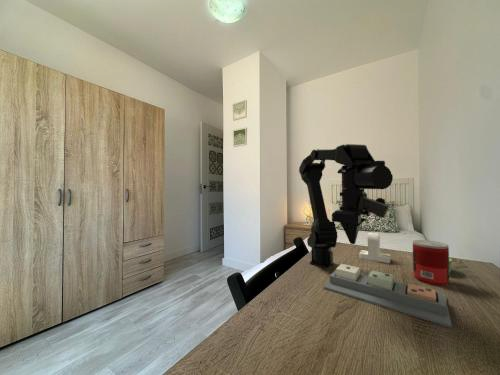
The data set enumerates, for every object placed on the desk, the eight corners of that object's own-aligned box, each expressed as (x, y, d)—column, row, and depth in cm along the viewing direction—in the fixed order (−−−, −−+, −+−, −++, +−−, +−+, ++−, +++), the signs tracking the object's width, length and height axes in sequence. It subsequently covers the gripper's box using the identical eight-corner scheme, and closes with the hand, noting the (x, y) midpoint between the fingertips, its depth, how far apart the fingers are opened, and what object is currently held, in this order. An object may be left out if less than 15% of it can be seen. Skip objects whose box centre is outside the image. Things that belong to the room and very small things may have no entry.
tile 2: (368, 285, 52) (368, 275, 53) (371, 278, 56) (371, 269, 56) (391, 291, 49) (391, 280, 49) (393, 283, 53) (393, 274, 53)
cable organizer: (361, 254, 84) (361, 230, 84) (390, 259, 78) (390, 233, 78) (359, 258, 80) (358, 232, 80) (389, 263, 74) (389, 236, 74)
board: (323, 288, 56) (323, 279, 56) (339, 272, 66) (339, 264, 66) (451, 327, 39) (451, 315, 39) (445, 298, 50) (445, 288, 50)
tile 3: (407, 301, 47) (407, 290, 47) (408, 292, 51) (408, 282, 51) (436, 309, 44) (436, 297, 44) (435, 299, 48) (435, 288, 48)
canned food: (456, 287, 55) (456, 247, 56) (423, 285, 57) (422, 245, 57) (437, 275, 63) (436, 240, 63) (407, 273, 64) (407, 239, 65)
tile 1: (336, 276, 58) (336, 267, 58) (341, 271, 62) (341, 263, 62) (355, 281, 54) (355, 272, 54) (359, 275, 58) (359, 266, 58)
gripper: (382, 189, 45) (382, 259, 45) (390, 188, 59) (390, 241, 60) (331, 189, 52) (331, 249, 52) (349, 188, 66) (349, 235, 67)
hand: (352, 243), depth 57 cm, fingers closed
